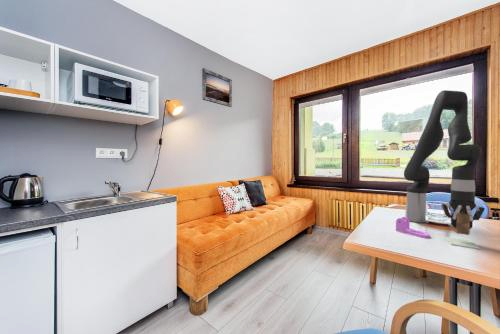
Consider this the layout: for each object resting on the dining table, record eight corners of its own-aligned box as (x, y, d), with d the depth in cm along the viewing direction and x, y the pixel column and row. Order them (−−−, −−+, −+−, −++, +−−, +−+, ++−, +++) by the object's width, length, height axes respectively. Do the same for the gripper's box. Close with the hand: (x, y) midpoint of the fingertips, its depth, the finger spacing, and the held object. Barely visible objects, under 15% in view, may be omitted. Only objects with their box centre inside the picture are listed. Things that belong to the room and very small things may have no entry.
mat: (450, 244, 90) (451, 243, 90) (443, 237, 99) (443, 236, 99) (480, 249, 86) (480, 248, 86) (470, 240, 94) (470, 240, 94)
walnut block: (456, 233, 92) (457, 213, 92) (453, 230, 96) (454, 211, 95) (469, 235, 90) (469, 214, 90) (465, 232, 94) (466, 212, 93)
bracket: (395, 230, 108) (396, 217, 108) (401, 229, 111) (401, 216, 111) (426, 239, 97) (427, 224, 97) (431, 236, 100) (432, 222, 100)
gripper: (444, 189, 92) (442, 227, 93) (490, 191, 85) (488, 233, 86) (438, 187, 99) (437, 223, 100) (481, 189, 92) (479, 228, 93)
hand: (461, 227), depth 93 cm, fingers closed on walnut block, 4 cm apart
